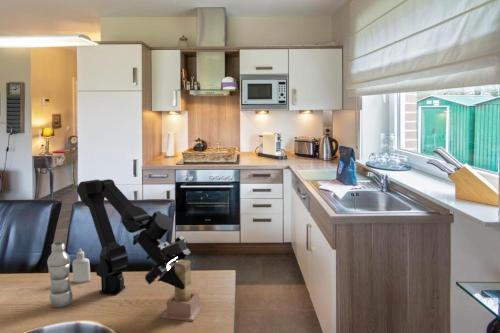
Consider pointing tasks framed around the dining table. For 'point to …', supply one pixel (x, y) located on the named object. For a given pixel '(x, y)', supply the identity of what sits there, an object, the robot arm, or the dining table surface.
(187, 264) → the wooden block
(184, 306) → the holder cup
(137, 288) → the dining table surface
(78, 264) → the eye dropper bottle
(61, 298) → the plastic bottle
